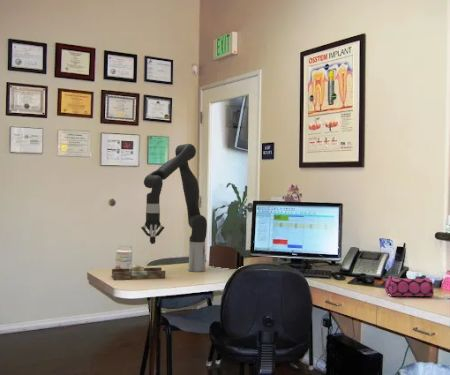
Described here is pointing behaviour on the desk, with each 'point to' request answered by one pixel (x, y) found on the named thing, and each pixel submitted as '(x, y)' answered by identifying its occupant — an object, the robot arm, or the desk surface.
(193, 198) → the robot arm
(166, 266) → the desk surface
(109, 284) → the desk surface
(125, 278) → the tunnel deck
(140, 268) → the maple block
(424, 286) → the pencil case
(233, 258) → the letter holder
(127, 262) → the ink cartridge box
